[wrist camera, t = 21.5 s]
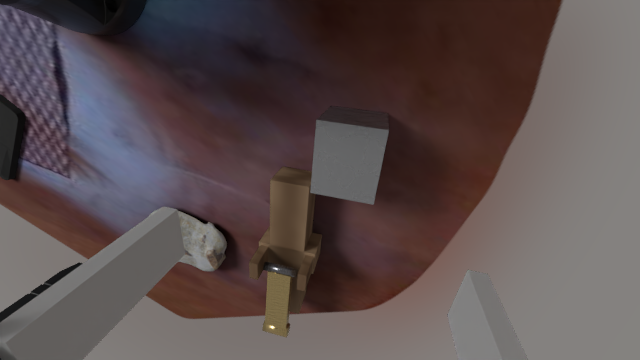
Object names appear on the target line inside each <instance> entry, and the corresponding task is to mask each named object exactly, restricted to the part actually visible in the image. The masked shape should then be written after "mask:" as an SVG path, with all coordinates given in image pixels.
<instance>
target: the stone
mask: <svg viewBox="0 0 640 360" xmlns="http://www.w3.org/2000/svg"><path fill="white" fill-rule="evenodd" d="M158 210H159V209H158ZM158 210H155V211H154V212H153V213H155V212H156V211H158ZM153 213H151V214H150V216H151V215H152V214H153ZM178 215H179V221H180V226H181V232H182V238H183V243H184V249H185V255H184V256H183V257H182V258H181V259H180V260H179V261H178V262H183V263H187V264H191V265H193V266H195V267H197V268H199V269H201V270H203V271H214V270H216V269H218V267H219V266H220V265H221V264H222V262H223V260H224V259H225V258H226V256H225V254H224V252H225V249H226V247H227V242H226V240H225V237H224V236H223V234H222V233H221V232H220V231H219V230H217V229H216V228H215V227H214V224H212V223H210V222H208V223H207V224H203V223H202V222H200V221H199V220H197V219H195V218H193V217H191V216H189V215H187V214H185V213H183V212H180V211H178Z"/></svg>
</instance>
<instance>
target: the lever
mask: <svg viewBox="0 0 640 360" xmlns="http://www.w3.org/2000/svg"><path fill="white" fill-rule="evenodd" d="M263 270H266V271H268V279H267V298H266V317H265V321H264V324H263V331H265V332H269V333H272V334H276V335H280V336H283V337H287V336H288V333H289V329H290V324H289V323H288V320H289V310H290V299H291V289H292V278H293V277H295V278H296V277H297V274H298V269H296V268H292V267H288V266H284V265H279V264H275V263H271V262H267V261H266V262H265V263H264V266H263Z"/></svg>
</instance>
